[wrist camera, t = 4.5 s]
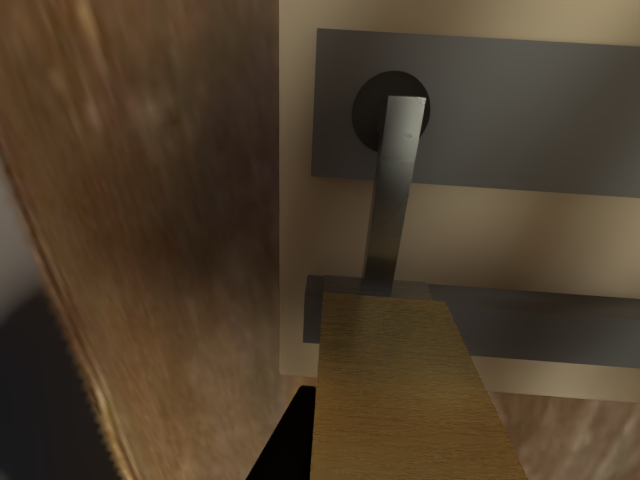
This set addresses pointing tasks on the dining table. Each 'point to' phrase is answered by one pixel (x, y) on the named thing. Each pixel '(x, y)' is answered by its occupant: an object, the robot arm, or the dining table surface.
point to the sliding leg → (399, 354)
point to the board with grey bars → (474, 178)
